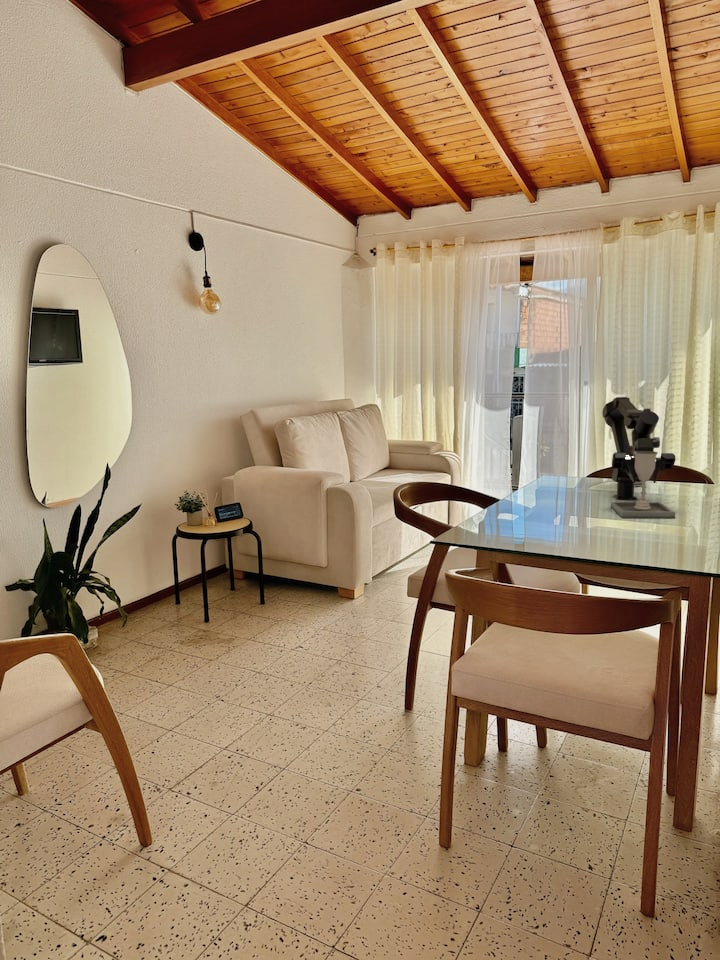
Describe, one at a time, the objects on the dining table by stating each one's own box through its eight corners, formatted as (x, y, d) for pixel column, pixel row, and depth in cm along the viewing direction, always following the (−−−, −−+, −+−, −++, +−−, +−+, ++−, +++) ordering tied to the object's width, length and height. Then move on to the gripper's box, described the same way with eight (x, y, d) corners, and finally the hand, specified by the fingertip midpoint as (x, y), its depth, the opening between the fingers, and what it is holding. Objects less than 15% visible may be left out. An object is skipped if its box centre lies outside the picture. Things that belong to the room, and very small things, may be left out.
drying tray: (610, 507, 229) (610, 502, 229) (659, 508, 227) (660, 502, 227) (621, 518, 215) (622, 512, 214) (675, 518, 213) (675, 512, 212)
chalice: (647, 504, 224) (650, 450, 220) (658, 509, 217) (662, 453, 213) (626, 505, 223) (629, 451, 219) (637, 510, 216) (640, 454, 213)
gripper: (614, 428, 221) (616, 467, 213) (676, 428, 216) (680, 468, 208) (610, 448, 230) (612, 486, 222) (670, 449, 225) (674, 488, 217)
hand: (644, 482), depth 217 cm, fingers closed on chalice, 6 cm apart
